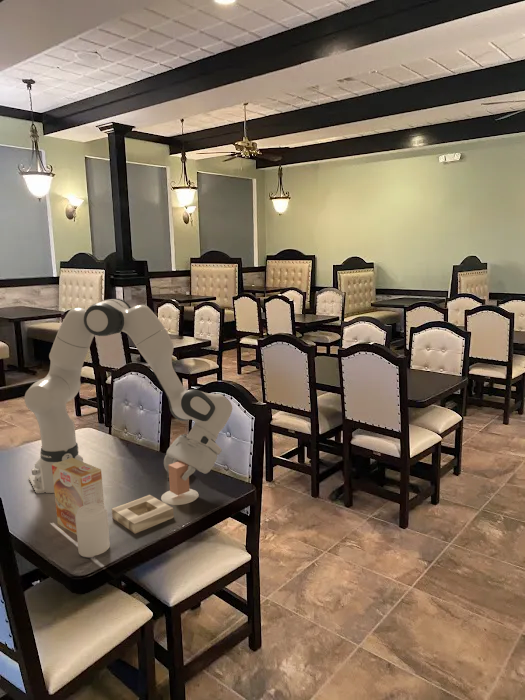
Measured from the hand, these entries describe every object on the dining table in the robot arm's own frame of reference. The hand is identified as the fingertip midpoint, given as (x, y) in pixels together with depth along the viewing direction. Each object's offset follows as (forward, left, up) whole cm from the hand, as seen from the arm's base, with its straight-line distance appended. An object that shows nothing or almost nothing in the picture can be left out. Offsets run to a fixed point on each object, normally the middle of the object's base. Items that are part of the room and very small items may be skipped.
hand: (177, 476), depth 171 cm
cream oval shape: (0, +1, -8) cm, 8 cm away
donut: (-17, +12, -8) cm, 22 cm away
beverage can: (+9, -33, -8) cm, 36 cm away
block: (0, +1, -5) cm, 5 cm away
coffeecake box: (-4, -31, -8) cm, 32 cm away
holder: (+4, -15, -8) cm, 18 cm away
